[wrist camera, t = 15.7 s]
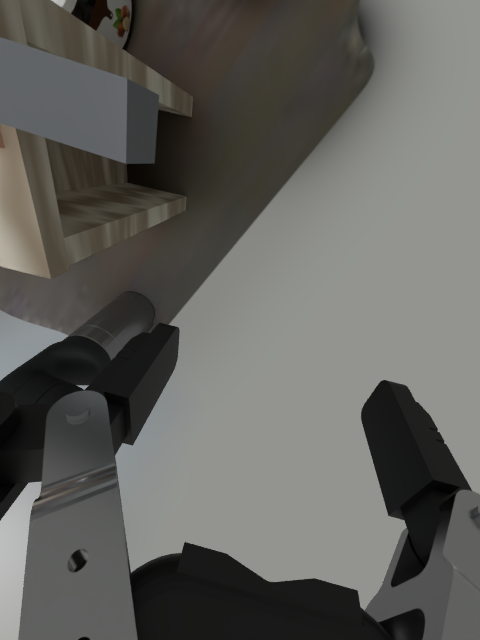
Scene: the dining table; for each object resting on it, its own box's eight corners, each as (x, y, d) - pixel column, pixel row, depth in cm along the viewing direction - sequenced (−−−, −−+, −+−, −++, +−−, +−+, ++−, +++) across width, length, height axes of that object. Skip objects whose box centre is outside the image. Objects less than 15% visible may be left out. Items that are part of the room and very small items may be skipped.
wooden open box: (196, 97, 38) (-105, -113, 9) (188, 211, 46) (22, 293, 18) (112, 79, 38) (-437, -179, 9) (119, 195, 47) (-152, 248, 18)
